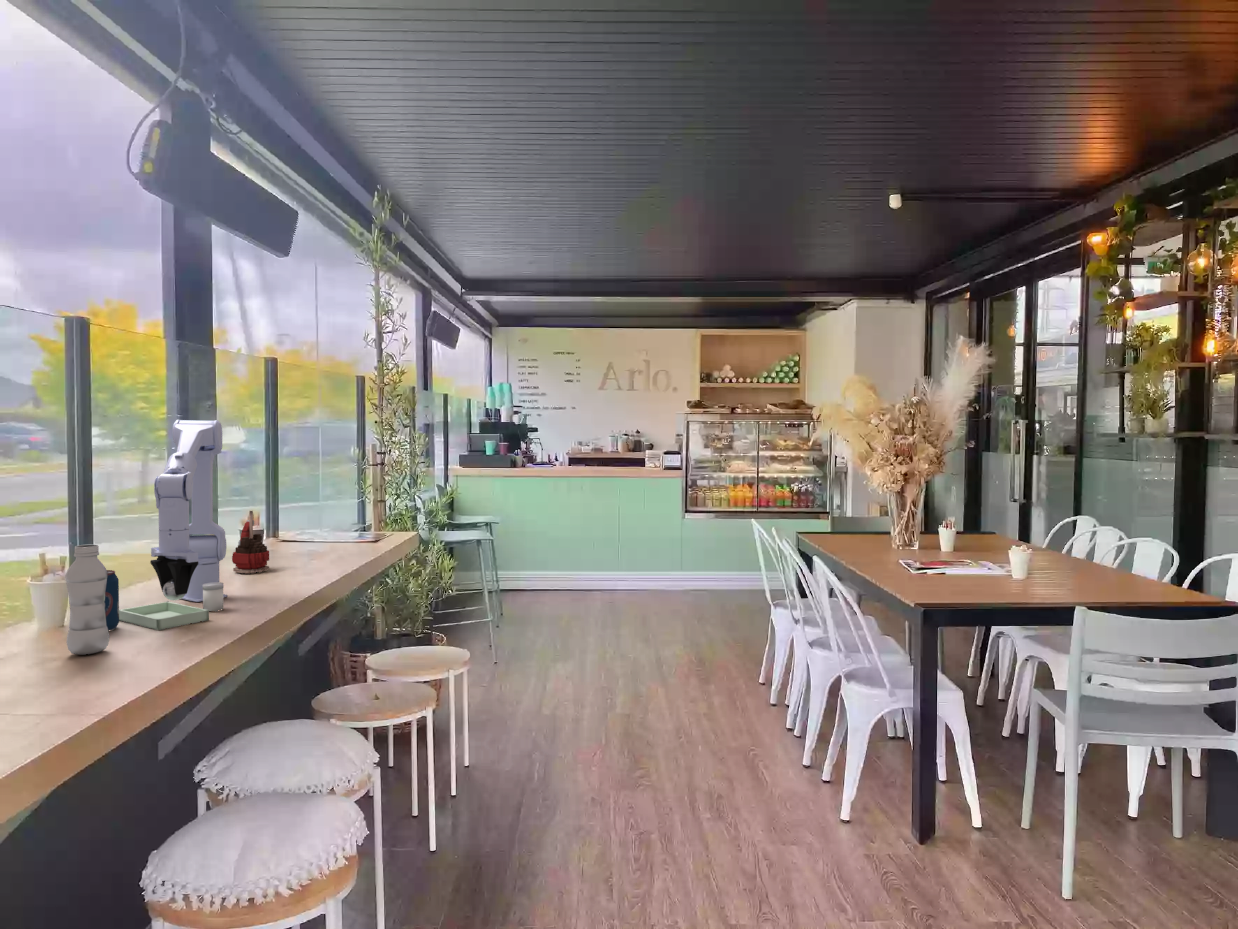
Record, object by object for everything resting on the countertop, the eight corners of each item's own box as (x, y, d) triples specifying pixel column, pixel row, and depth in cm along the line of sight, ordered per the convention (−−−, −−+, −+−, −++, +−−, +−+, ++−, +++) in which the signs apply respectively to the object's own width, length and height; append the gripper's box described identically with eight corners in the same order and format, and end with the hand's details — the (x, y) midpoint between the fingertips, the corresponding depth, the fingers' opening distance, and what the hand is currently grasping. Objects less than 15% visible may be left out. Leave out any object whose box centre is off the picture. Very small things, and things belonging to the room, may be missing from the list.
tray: (117, 620, 175) (117, 610, 175) (168, 610, 184) (168, 601, 184) (158, 630, 166) (157, 619, 166) (209, 620, 176) (208, 610, 176)
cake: (258, 575, 230) (258, 512, 230) (226, 575, 230) (226, 512, 230) (275, 569, 241) (275, 509, 240) (244, 568, 241) (243, 508, 240)
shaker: (198, 610, 185) (198, 584, 185) (216, 607, 189) (216, 581, 189) (209, 612, 183) (209, 586, 183) (227, 609, 187) (227, 583, 186)
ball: (159, 601, 172) (157, 580, 172) (180, 598, 176) (179, 577, 176) (170, 602, 170) (169, 580, 170) (192, 598, 173) (190, 577, 173)
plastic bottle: (118, 650, 151) (116, 544, 150) (83, 660, 144) (81, 549, 144) (92, 647, 153) (91, 542, 152) (57, 656, 147) (56, 547, 146)
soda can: (77, 635, 161) (76, 576, 161) (81, 628, 168) (80, 570, 167) (117, 632, 165) (116, 573, 164) (120, 624, 171) (119, 568, 170)
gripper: (136, 528, 173) (137, 591, 173) (174, 533, 165) (175, 599, 165) (169, 526, 179) (170, 586, 179) (207, 530, 171) (207, 594, 171)
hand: (174, 592), depth 173 cm, fingers closed on ball, 5 cm apart
